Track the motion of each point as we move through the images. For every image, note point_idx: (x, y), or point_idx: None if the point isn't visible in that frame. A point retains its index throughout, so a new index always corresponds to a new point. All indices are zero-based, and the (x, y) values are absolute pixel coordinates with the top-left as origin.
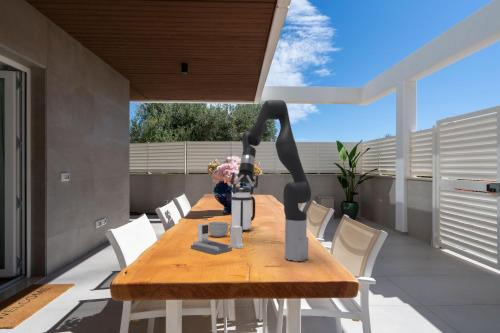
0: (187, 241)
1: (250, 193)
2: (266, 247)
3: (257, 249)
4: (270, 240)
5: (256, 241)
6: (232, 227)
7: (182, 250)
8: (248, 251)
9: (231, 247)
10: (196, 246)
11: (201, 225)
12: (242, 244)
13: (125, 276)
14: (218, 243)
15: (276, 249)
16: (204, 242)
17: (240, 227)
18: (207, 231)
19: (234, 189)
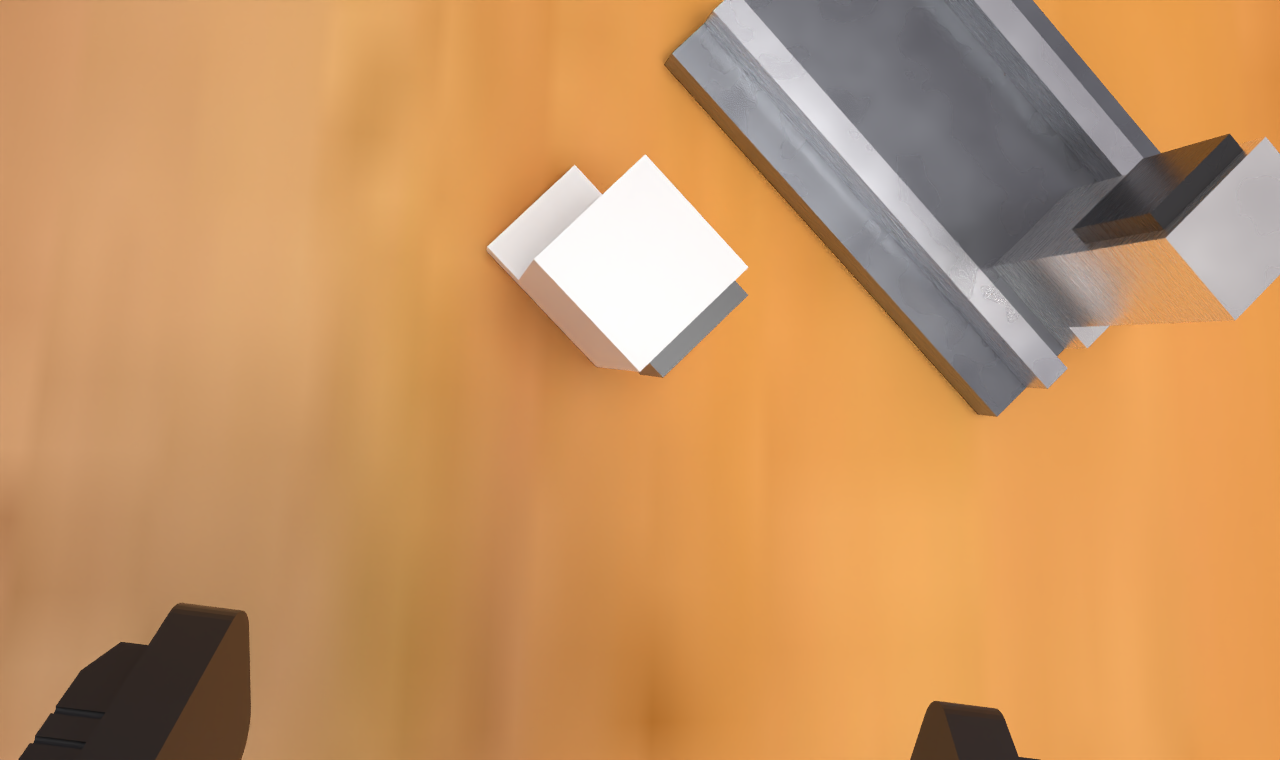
0: (1247, 624)
1: (226, 613)
2: (146, 233)
3: (298, 115)
4: (16, 725)
5: (264, 644)
6: (713, 233)
7: (1263, 115)
8: (438, 6)
9: (677, 50)
10: (1131, 135)
11: (1263, 151)
12: (512, 235)
13: None
14: (865, 144)
15: (2, 98)
16: (1054, 217)
17: (565, 231)
18: (1101, 213)
19: (988, 752)
